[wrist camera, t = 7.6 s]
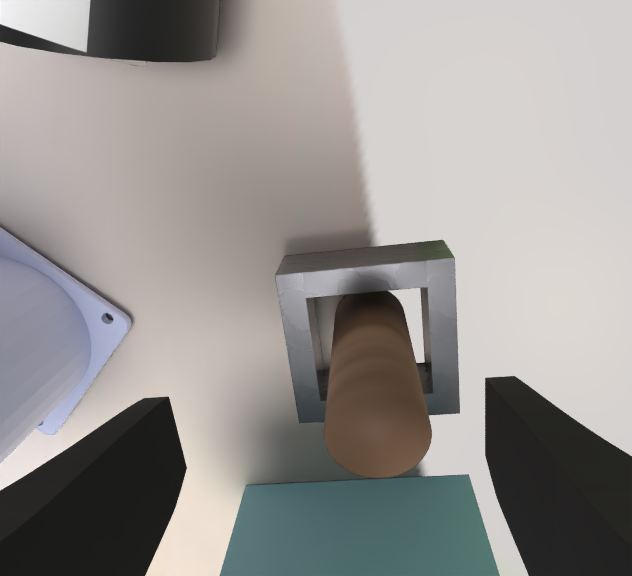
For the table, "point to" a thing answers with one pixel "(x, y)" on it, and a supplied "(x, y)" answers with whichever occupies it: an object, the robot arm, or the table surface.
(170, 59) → the security camera
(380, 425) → the walnut peg
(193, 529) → the table surface
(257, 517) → the teal block
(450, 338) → the gray socket
